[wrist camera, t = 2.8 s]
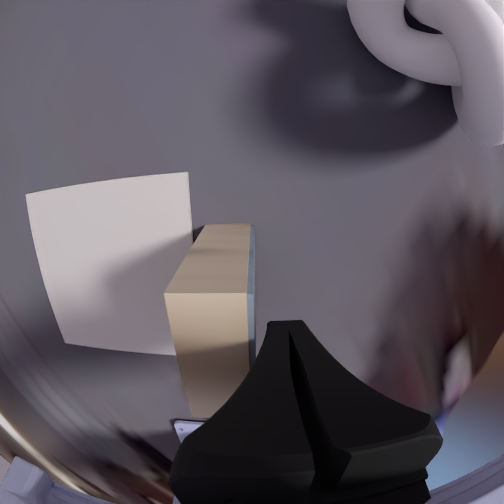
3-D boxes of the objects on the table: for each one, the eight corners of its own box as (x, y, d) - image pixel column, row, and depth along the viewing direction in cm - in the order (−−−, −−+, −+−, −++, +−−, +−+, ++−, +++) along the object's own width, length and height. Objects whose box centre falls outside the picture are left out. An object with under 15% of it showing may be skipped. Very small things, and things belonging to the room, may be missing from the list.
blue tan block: (256, 317, 18) (256, 418, 11) (213, 317, 18) (191, 416, 11) (254, 223, 16) (253, 292, 8) (205, 224, 16) (163, 292, 9)
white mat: (207, 353, 19) (206, 356, 19) (66, 340, 19) (65, 342, 19) (188, 171, 15) (186, 172, 15) (28, 193, 15) (25, 194, 15)
